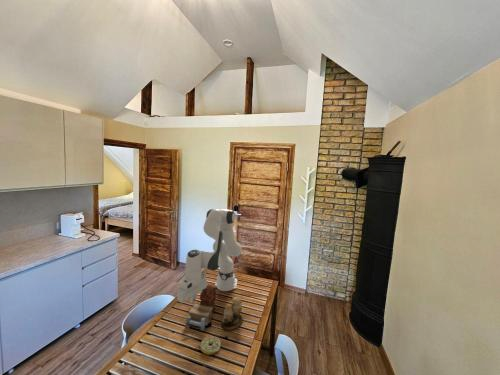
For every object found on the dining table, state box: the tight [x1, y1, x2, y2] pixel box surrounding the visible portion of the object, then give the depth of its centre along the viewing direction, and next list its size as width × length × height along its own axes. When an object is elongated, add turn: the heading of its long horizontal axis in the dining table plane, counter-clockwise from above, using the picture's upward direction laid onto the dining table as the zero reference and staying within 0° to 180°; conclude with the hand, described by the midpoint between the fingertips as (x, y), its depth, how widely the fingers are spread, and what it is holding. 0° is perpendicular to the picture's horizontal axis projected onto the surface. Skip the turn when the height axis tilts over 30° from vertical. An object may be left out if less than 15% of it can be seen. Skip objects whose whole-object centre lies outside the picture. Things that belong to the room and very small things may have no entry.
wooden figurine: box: [199, 284, 217, 312], centre depth 153 cm, size 12×6×18 cm, turn 147°
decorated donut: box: [200, 336, 221, 356], centre depth 122 cm, size 10×11×4 cm
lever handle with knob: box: [185, 315, 206, 332], centre depth 136 cm, size 12×3×7 cm, turn 73°
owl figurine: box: [220, 296, 244, 333], centre depth 143 cm, size 18×12×17 cm, turn 150°
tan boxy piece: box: [184, 303, 214, 329], centre depth 142 cm, size 14×13×7 cm
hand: (192, 301), depth 129 cm, fingers closed
